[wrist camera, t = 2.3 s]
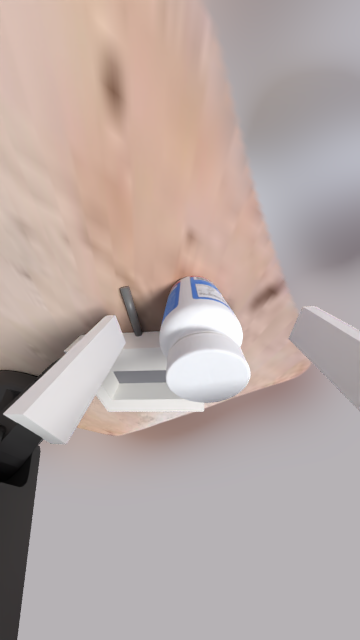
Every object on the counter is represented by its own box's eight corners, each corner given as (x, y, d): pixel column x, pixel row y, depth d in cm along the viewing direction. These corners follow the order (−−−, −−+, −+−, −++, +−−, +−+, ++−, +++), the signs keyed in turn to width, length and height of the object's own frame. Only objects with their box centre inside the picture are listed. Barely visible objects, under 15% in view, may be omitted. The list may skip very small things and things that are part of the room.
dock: (116, 393, 25) (108, 411, 22) (55, 291, 15) (28, 302, 12) (202, 392, 24) (204, 411, 21) (203, 280, 13) (207, 291, 11)
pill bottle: (180, 326, 17) (175, 416, 8) (160, 286, 14) (123, 359, 6) (224, 311, 15) (271, 400, 7) (210, 265, 13) (259, 317, 4)
